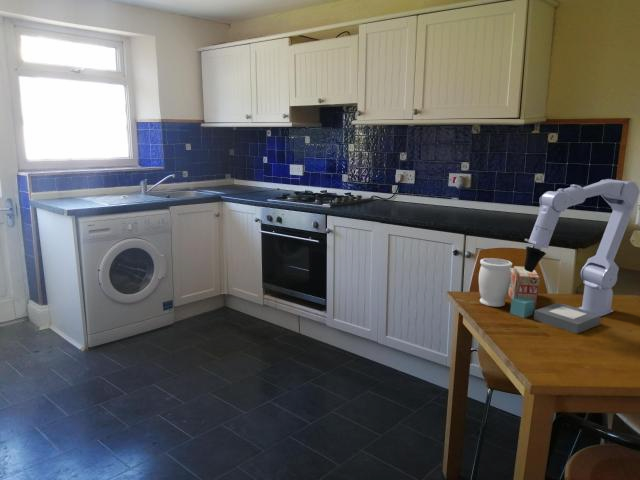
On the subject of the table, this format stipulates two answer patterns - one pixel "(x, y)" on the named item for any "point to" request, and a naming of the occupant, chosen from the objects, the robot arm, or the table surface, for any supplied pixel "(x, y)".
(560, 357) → the table surface
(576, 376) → the table surface
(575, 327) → the white-inset grey tile
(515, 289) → the stack of blocks
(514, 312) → the teal cube
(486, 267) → the jar
